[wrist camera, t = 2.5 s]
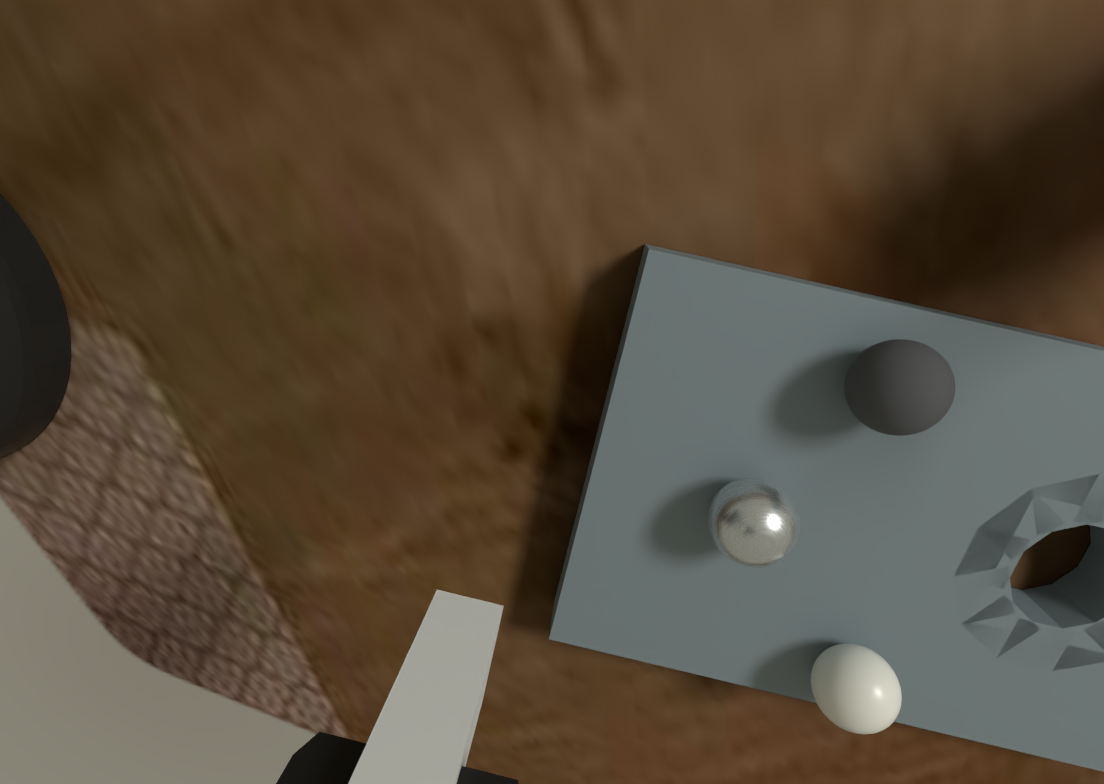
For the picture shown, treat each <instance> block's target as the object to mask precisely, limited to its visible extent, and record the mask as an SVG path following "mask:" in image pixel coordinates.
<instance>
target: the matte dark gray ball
mask: <svg viewBox="0 0 1104 784" xmlns="http://www.w3.org/2000/svg"><path fill="white" fill-rule="evenodd" d="M844 392H845V398H846V402H847V404H848V406H849V408H850V410H851V411H852V413H853V414H854V415H855V417H856V418H857V419H858V420H859V421H860V422H861V423H863V424H864V425H866V426H867V427H869V428H870V429H872V430H875V431H877V432H880V433H883V434H887V435H895V436H904V435H911V434H916V433H920V432H922V431H925V430H927V429H929V428H931V427H932V426H934V425H935V424H937V423H938V422H939V421H940V420H941V419H942V418H943V417H944V416H945V415H946V413H947V412H948V411H949V409H950V407H951V405H952V403H953V400H954V396H955V378H954V375H953V372H952V370H951V367H950V366H949V364H948V362H947V361H946V360H945V359H944V358H943V356H942V355H941V354H939V353H938V352H937V351H936V350H934V349H933V348H931V347H929V346H927V345H925V344H923V343H920V342H917V341H913V340H906V339H894V340H888V341H883V342H880V343H877V344H875V345H873V346H870V347H869V348H867V349H866V350H864V351H863V352H862V353H860V354H859V355H858V356H857V357H856V359H855V360H854V361H853V362H852V364H851V365H850V367H849V369H848V371H847V374H846V377H845V382H844Z"/></svg>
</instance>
